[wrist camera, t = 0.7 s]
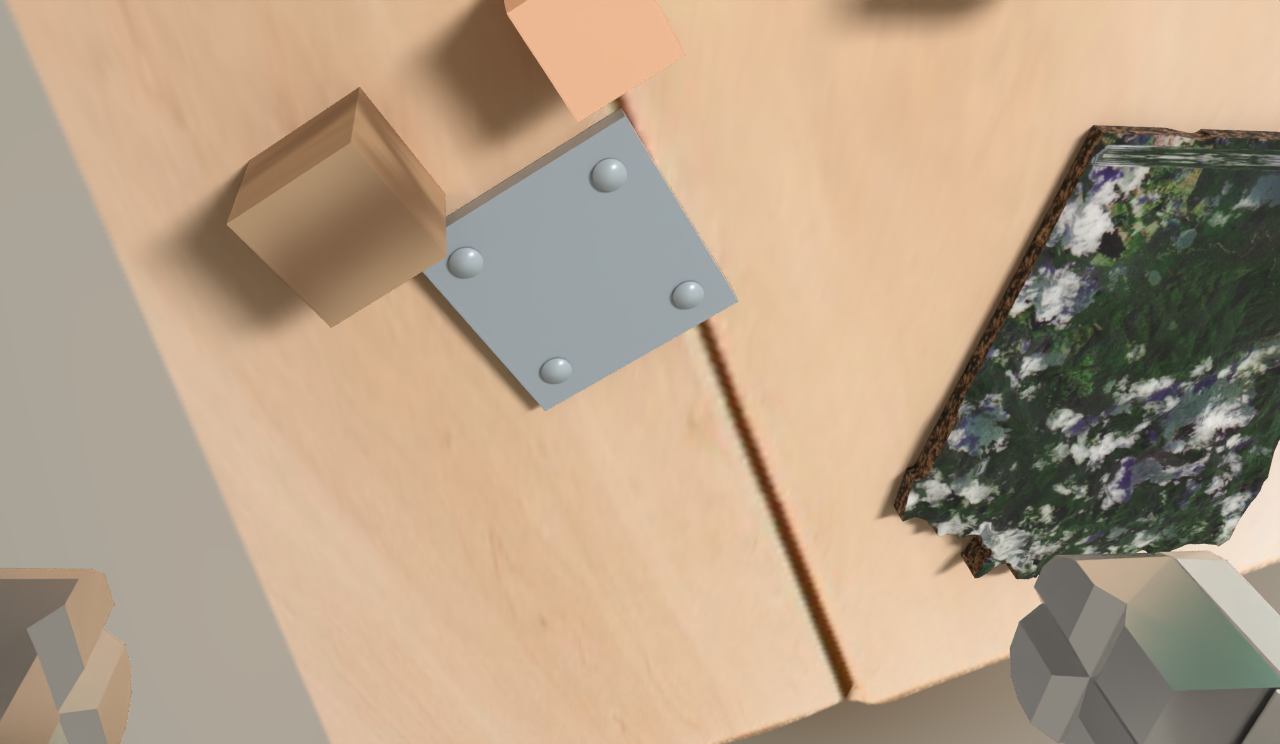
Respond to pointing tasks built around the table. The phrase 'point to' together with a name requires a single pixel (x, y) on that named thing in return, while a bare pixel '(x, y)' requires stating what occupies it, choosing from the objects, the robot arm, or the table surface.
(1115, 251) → the topographical map
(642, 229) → the plate
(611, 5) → the block
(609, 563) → the table surface
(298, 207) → the block
